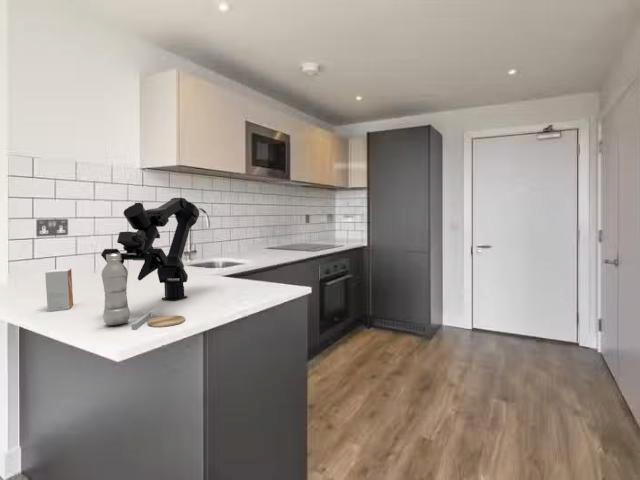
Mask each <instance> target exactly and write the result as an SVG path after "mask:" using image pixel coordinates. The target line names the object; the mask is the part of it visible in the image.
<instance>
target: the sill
mask: <svg viewBox="0 0 640 480" xmlns="http://www.w3.org/2000/svg"><path fill="white" fill-rule="evenodd" d="M152 317H153V316H152V312H146V313H145V314H144V315H142V316H141V317H139V318H138V319H136V320H135V321H133V322H132V323H131V330H132V331H133V330H137V329H139V328H140V327H141V326H143V324H145V323H146V322H148V321H149V320H151V319H153V318H152Z"/></svg>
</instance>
